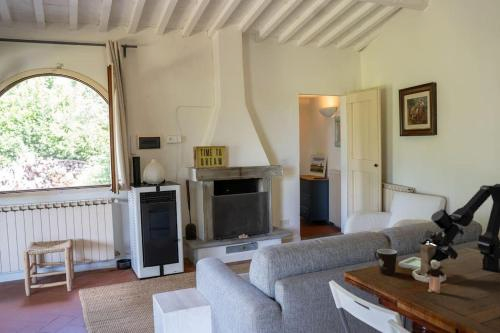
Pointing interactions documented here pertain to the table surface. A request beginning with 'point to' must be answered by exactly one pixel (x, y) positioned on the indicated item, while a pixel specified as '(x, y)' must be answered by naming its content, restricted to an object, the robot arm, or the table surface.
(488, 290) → the table surface
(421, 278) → the ring dish
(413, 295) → the table surface
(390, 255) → the coffee mug
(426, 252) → the walnut post
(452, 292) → the table surface
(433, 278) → the grandmother figurine
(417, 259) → the tray
